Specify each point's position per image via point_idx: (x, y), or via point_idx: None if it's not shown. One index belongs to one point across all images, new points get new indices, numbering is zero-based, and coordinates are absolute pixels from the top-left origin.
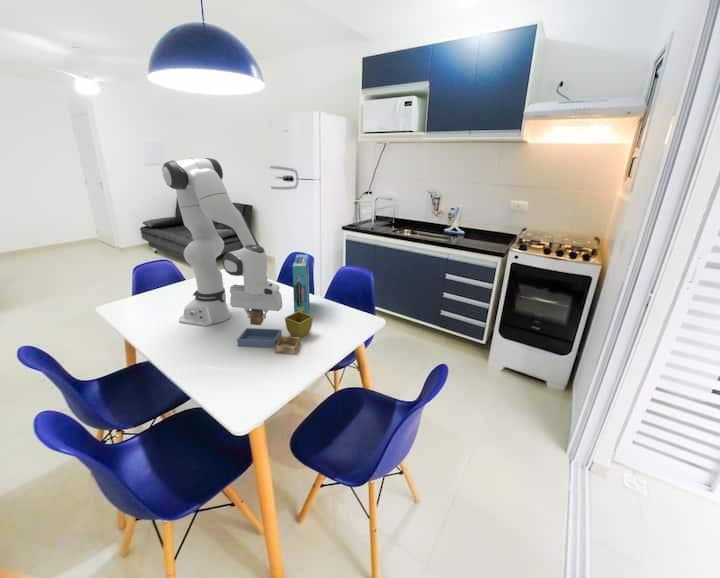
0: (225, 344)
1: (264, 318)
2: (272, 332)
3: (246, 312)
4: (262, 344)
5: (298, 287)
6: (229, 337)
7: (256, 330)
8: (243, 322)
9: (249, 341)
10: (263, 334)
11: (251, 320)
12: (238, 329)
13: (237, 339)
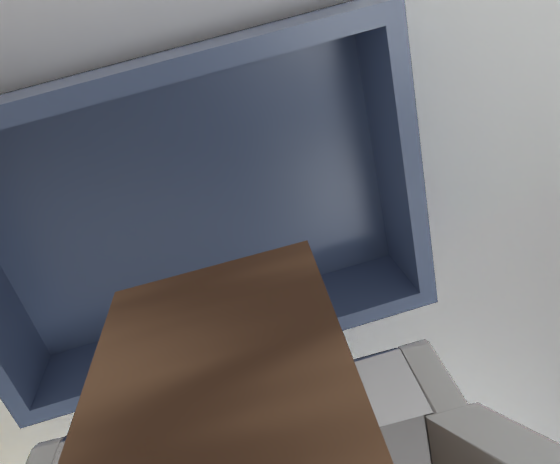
0: (528, 11)
1: (28, 458)
2: None
3: (526, 436)
4: (48, 86)
5: None
6: (547, 159)
7: None
8: (534, 416)
9: (223, 41)
10: None
11: (298, 294)
12: (526, 312)
13: (401, 3)
